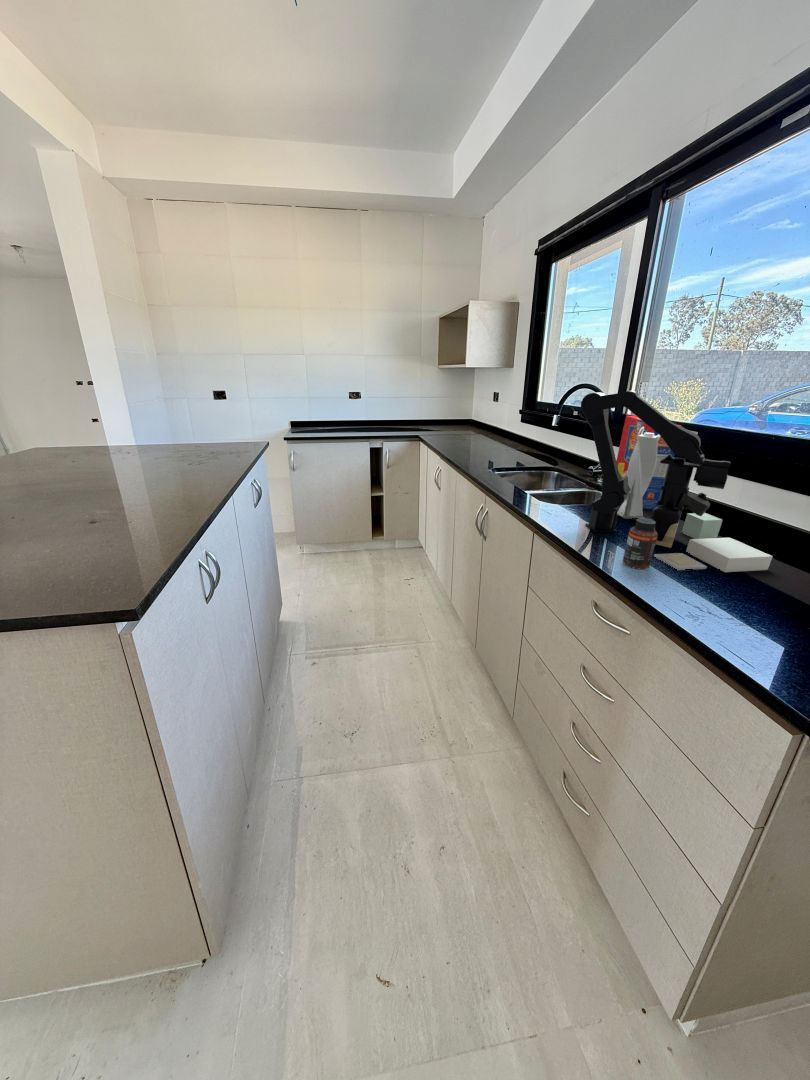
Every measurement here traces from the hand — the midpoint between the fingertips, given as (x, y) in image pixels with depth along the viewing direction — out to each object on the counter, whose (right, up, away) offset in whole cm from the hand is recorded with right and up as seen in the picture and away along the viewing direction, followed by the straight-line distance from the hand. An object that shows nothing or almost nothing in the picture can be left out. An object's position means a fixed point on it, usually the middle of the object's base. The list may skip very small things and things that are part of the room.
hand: (661, 537), depth 118 cm
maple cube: (0, -1, 0) cm, 1 cm away
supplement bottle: (-15, -7, -14) cm, 21 cm away
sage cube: (+14, 0, +6) cm, 15 cm away
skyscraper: (+3, +7, +23) cm, 24 cm away
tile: (-3, -6, -12) cm, 14 cm away
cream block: (+10, -6, -10) cm, 15 cm away
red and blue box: (+14, +15, +41) cm, 46 cm away
